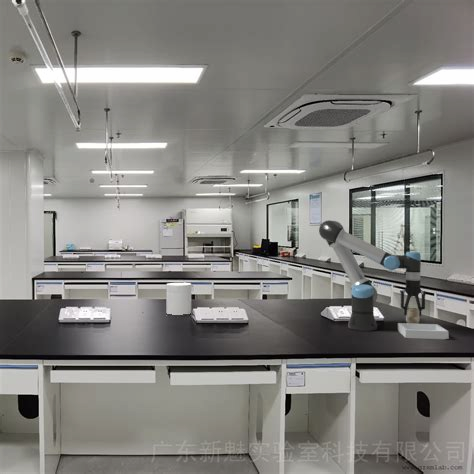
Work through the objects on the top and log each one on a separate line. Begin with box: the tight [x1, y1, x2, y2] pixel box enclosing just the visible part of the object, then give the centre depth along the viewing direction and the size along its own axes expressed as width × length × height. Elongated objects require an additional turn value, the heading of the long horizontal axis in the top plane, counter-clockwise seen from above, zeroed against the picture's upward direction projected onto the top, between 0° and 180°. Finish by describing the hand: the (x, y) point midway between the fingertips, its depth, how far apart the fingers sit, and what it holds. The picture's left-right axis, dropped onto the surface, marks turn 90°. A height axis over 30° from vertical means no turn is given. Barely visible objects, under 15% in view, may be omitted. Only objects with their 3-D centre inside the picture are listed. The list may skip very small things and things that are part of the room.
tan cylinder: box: [406, 307, 420, 324], centre depth 238 cm, size 5×5×9 cm
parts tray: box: [397, 322, 450, 340], centre depth 220 cm, size 20×18×4 cm
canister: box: [165, 282, 192, 315], centre depth 278 cm, size 16×16×20 cm
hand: (412, 321), depth 238 cm, fingers closed on tan cylinder, 5 cm apart
